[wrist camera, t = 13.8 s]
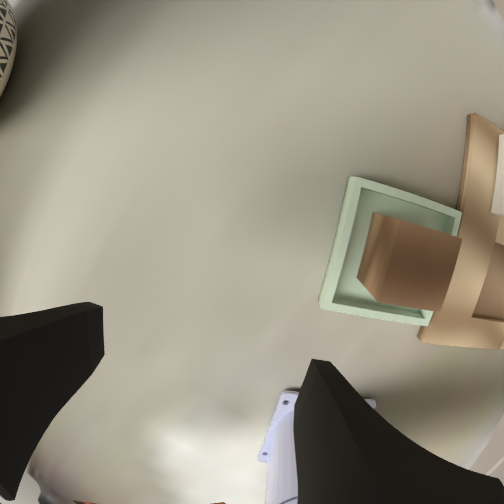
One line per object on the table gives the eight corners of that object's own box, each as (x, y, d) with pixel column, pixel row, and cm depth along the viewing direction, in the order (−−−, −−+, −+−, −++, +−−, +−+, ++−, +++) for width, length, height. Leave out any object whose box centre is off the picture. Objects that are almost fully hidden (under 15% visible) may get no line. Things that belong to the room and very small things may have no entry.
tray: (419, 317, 18) (427, 326, 17) (318, 299, 18) (321, 308, 17) (450, 210, 16) (462, 212, 15) (348, 177, 17) (354, 176, 15)
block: (410, 288, 17) (440, 312, 13) (356, 277, 17) (377, 301, 13) (427, 227, 16) (462, 238, 12) (372, 212, 17) (399, 219, 12)
